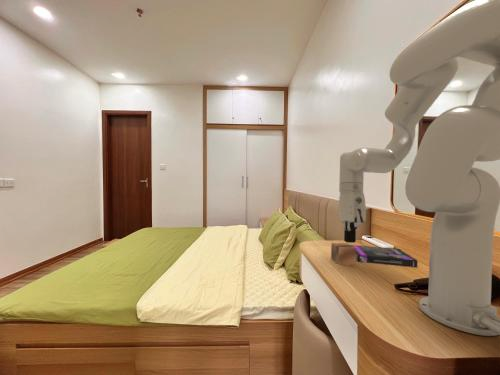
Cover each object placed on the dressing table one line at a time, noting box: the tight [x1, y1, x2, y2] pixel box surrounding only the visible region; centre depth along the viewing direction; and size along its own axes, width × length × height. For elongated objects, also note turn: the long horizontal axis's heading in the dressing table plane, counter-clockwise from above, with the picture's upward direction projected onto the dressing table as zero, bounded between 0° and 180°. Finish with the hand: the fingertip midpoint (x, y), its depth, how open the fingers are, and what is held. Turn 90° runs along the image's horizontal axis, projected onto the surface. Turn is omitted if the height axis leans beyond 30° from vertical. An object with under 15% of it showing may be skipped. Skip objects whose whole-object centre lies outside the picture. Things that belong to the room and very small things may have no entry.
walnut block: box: [330, 242, 357, 266], centre depth 80 cm, size 6×6×6 cm
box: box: [350, 244, 418, 268], centre depth 86 cm, size 14×4×20 cm
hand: (349, 241), depth 76 cm, fingers closed
